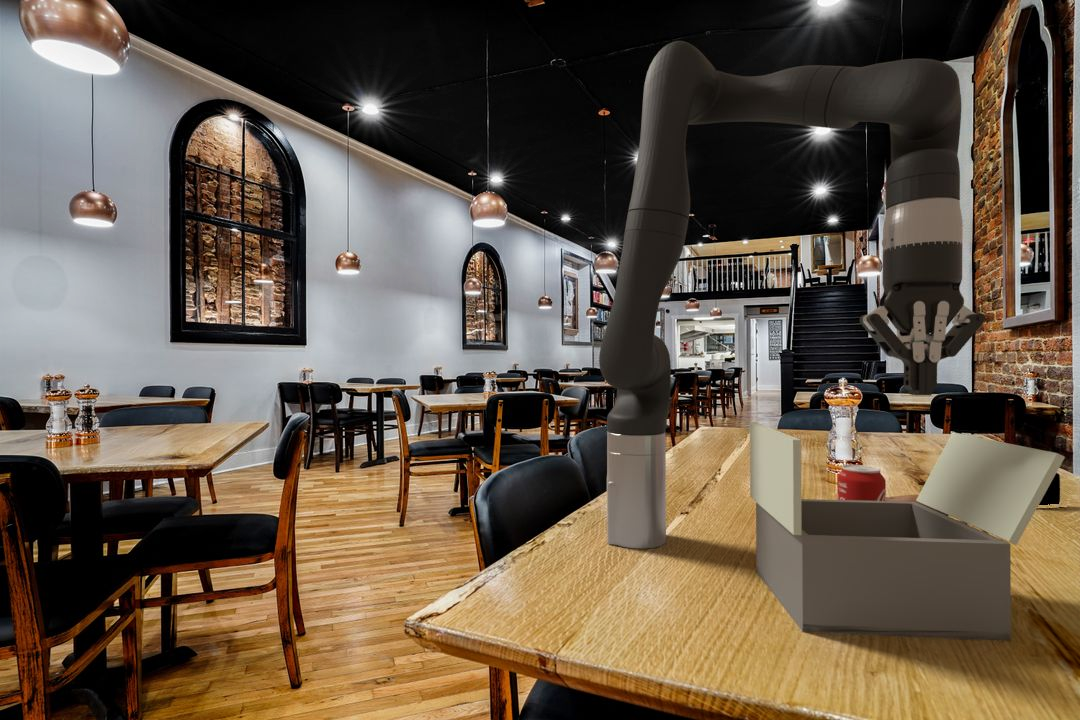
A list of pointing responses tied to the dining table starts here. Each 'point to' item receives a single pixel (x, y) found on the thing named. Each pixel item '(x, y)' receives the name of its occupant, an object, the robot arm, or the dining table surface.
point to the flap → (990, 484)
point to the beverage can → (861, 483)
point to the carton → (872, 558)
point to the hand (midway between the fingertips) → (920, 394)
